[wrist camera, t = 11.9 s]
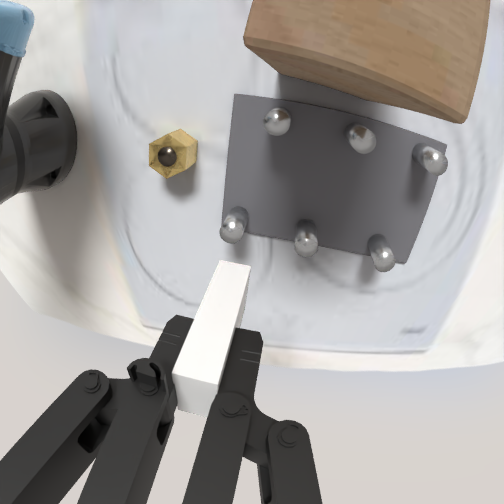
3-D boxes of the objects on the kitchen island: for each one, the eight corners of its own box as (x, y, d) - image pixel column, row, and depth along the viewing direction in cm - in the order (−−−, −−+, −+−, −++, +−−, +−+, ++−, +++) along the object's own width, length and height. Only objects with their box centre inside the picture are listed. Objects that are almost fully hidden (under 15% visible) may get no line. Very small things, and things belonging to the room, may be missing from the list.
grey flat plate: (222, 226, 36) (221, 227, 36) (235, 93, 28) (234, 93, 27) (405, 261, 35) (405, 263, 34) (445, 144, 26) (447, 145, 26)
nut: (154, 152, 33) (140, 159, 30) (172, 122, 30) (158, 127, 27) (186, 175, 34) (175, 185, 31) (206, 147, 31) (196, 154, 28)
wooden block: (369, 101, 26) (468, 129, 9) (276, 73, 26) (238, 46, 9) (390, 22, 20) (495, -35, 4) (297, -8, 21) (289, -117, 4)
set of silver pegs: (228, 223, 36) (218, 241, 32) (241, 101, 28) (231, 104, 24) (396, 255, 34) (405, 276, 30) (432, 146, 26) (450, 156, 23)
